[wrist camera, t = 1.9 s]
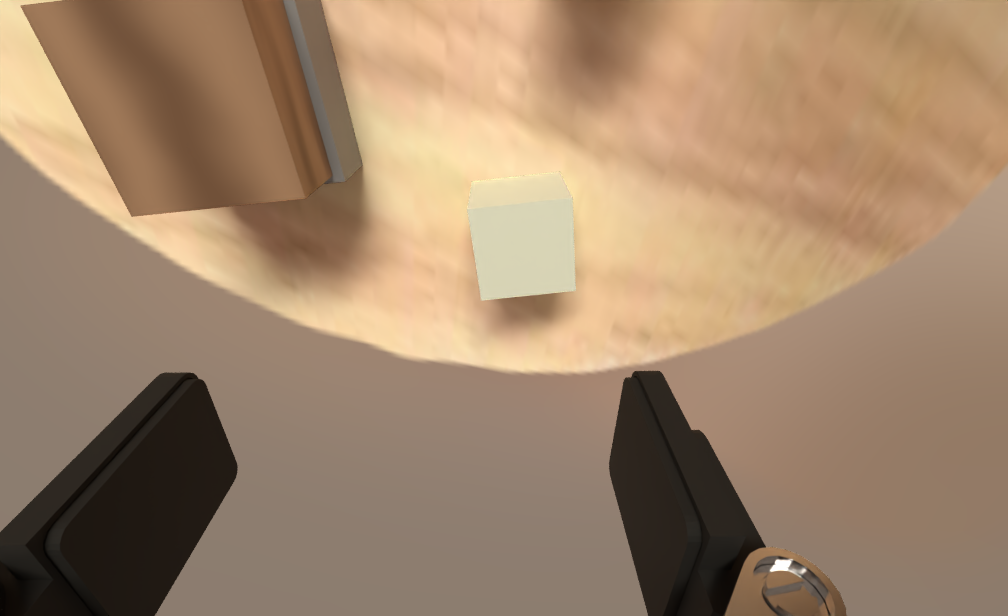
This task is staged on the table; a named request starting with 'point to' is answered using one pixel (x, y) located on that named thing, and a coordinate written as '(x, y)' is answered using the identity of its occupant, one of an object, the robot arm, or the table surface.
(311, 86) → the tower base block
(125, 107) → the tower top block
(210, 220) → the table surface
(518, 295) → the cream cube
